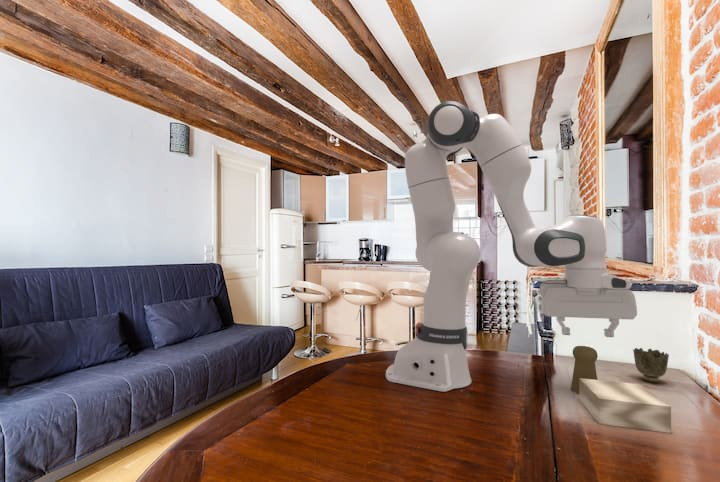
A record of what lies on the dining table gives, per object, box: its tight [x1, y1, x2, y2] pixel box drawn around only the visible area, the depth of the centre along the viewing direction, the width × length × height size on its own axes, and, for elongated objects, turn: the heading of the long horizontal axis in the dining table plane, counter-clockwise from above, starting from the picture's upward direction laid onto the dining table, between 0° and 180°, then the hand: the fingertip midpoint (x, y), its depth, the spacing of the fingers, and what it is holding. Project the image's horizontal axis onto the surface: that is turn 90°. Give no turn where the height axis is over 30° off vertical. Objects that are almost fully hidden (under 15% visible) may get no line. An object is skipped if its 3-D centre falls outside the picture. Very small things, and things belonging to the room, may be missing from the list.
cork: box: [570, 345, 598, 395], centre depth 87 cm, size 6×6×11 cm
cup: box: [632, 347, 670, 384], centre depth 95 cm, size 8×7×8 cm
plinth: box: [578, 378, 672, 434], centre depth 75 cm, size 12×12×5 cm
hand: (587, 335), depth 87 cm, fingers open, 8 cm apart
